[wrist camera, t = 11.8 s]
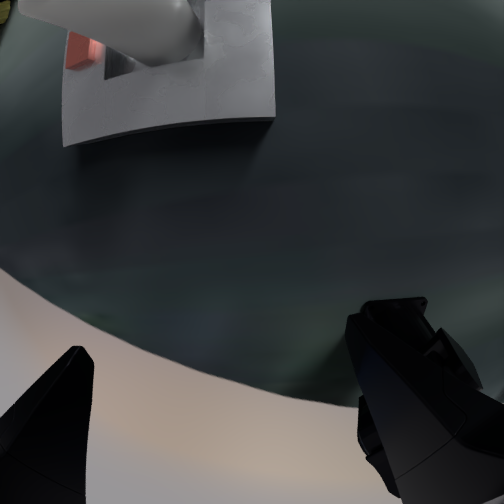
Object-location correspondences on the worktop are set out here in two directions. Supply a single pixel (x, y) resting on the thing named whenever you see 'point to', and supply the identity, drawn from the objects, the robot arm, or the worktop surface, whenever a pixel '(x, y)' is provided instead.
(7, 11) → the plastic component
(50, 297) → the worktop surface
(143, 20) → the plug
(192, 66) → the socket box
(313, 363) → the worktop surface
